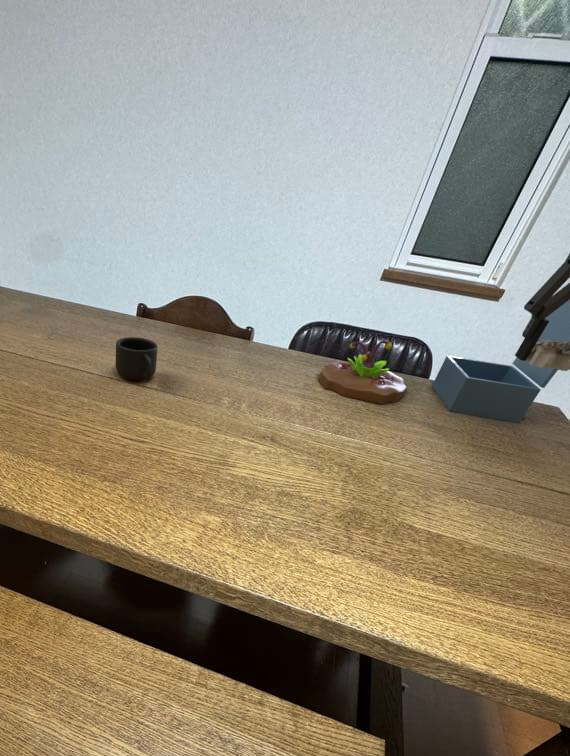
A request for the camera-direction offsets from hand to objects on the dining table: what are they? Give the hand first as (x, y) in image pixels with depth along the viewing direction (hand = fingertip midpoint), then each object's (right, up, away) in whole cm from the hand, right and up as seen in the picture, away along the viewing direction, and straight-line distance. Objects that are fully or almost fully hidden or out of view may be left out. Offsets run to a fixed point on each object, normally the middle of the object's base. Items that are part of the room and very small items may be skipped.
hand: (553, 363), depth 79 cm
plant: (-20, +6, +31) cm, 38 cm away
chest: (+6, +2, +30) cm, 31 cm away
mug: (-75, +5, +21) cm, 78 cm away
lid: (+16, +13, +19) cm, 28 cm away
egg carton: (0, 0, 0) cm, 0 cm away
